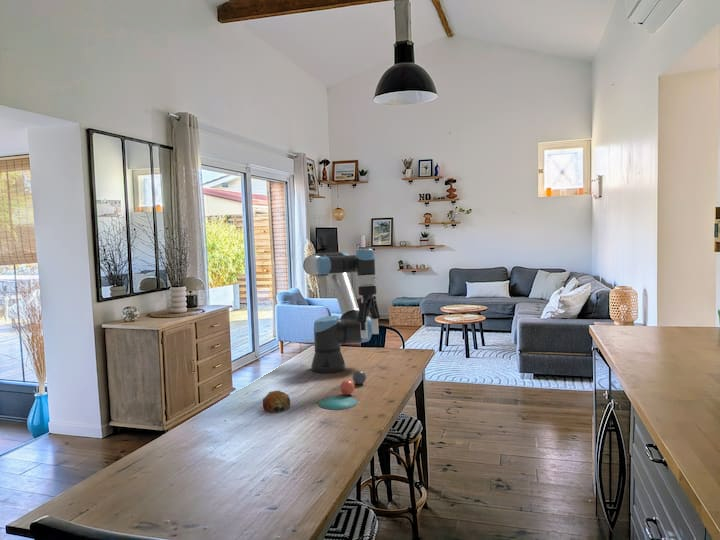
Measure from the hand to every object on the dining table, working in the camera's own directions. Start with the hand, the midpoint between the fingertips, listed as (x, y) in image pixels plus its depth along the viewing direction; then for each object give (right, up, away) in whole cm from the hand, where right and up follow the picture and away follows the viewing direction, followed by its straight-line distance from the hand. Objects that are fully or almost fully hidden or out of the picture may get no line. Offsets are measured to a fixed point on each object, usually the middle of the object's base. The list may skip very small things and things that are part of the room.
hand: (370, 336), depth 223 cm
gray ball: (-4, -16, -8) cm, 18 cm away
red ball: (-9, -17, -22) cm, 29 cm away
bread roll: (-34, -22, -34) cm, 53 cm away
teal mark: (-12, -20, -31) cm, 39 cm away
